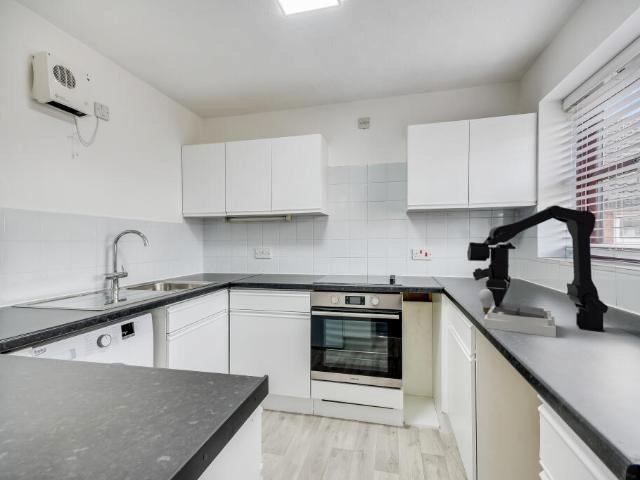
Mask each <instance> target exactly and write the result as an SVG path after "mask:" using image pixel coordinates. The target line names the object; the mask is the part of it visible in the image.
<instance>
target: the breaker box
mask: <svg viewBox="0 0 640 480" xmlns="http://www.w3.org/2000/svg"><path fill="white" fill-rule="evenodd" d="M494 307H495V305H491V307H490V310H489V311H488V313H487V314H485V316H484V318H483V328H487V329H492V330H494V329H495V330H501V331H507V332H508V331H509V332H516V333H520V334H522V333H523V334H530V335H537V336H544V337H550V338H557V337H556V336H557V335H556V333H557V332H556V331H557V329H556V328H557V326H556V322H555V317H554V316H552V312H551V311H550V310H544V319H543V318H534V317H527V316H521V315H515V314H509V313H504V312H498V311H494Z"/></svg>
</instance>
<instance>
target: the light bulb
mask: <svg viewBox="0 0 640 480" xmlns="http://www.w3.org/2000/svg"><path fill="white" fill-rule="evenodd" d="M478 299H479V301H480V303H481V306H482V310H483V311H482V312H484V313H485V315H487V313H488V311H489V310H490V308H491V307H492V304H493V302H494V298H493V294H492V292H491V291H490V290H489V289H487V288H484V289H481V290H480V291H479V293H478Z"/></svg>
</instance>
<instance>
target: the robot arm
mask: <svg viewBox="0 0 640 480" xmlns="http://www.w3.org/2000/svg"><path fill="white" fill-rule="evenodd" d="M552 219H553V220H556V221H558V222H561V223H564V224H566V227H567V231H568V232H569V234H570V236H571V240H572V244H571V245H572V263H573V265H572V266H573V279H572V282H571V283H568V282H567V283H566V287H567V288H566V289H567V292H566V295H567V296H568V297H569V300H570V301H571V302H573V304H574V306H575V308H578V309H577V311H576V313H575V325H576V326H577V328H578V329H579V330H587V331H595V332H596V331H597V332H605V329H604V314H606V313H607V312H608V310H609V306H608V305H607V304H606V303H604V302H603V301H602V300H600V296H599V292H598V289H597V286H596V284H594V281H593V276H592V259H591V257H592V256H591V236H592V234H593V232H594V230H595V225H596V220H597V218H596V215H595V213H593V212H592V211H590V210H586V209H585V210H577V209H573V208H567V207H562V206H560V205H556V204H555V205H550V206H547V207H546V208H544V209H542V210H539V211H537V212H535V213H532V214H530V215H528V216H526V217H524V218H521V219H519V220H516V221H514V222H511V223H507V224H503V225H499V226H494V227H493V228H491V229H490V231H489V234H488V237H487V238H485V240H484V241H483V242H474V241H473V242H470V241H469V242H468V247H467V251H466V253H467V254H466V256H467V261H469V262H474V261H475V262H486V261H487V259H488V260H489V259H490V264H488V267H487V268H484V269H483V268H480V267H479V268H475V269H474V271H473V272H472V274H473V275H472V277H473V278H474V280H475V281H479V280H482V279H486V278H487V280H486V282H485V287H486V289H489V290H490V291H491V292H492V294H493V298H494V301H493V302H494V303H493V304H494V306H495V307H499V306H500V304H501V303H502V302H503V301H504V299H505V297H506V295H507V293H508V290H509V288H510V286H511V283H512V277H511V276H510V275H509V269H510V264H509V258H510V256H509V253H510V250H516V246H515V245H513V243H512V242H510V240H511V239H513V238H516V236H517V235H519V234H520V233H522V232H523V231H526V230H528V229H530V228H533V227H535V226H537V225H540V224H542V223H544V222H547V221H549V220H552ZM508 241H509V242H508ZM501 243H503V244H501ZM505 243H506V244H505Z"/></svg>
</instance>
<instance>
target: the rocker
mask: <svg viewBox="0 0 640 480" xmlns="http://www.w3.org/2000/svg"><path fill="white" fill-rule="evenodd" d="M494 311H498V312H504V313H509V314H515V315H521V316H527V317H534V318H543V319H544V311H545V309H544V308H541V307H534V306H529V305H522V304H516V303H509V302H503V301H502V303H501V304H500V306H499V307H494Z"/></svg>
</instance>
